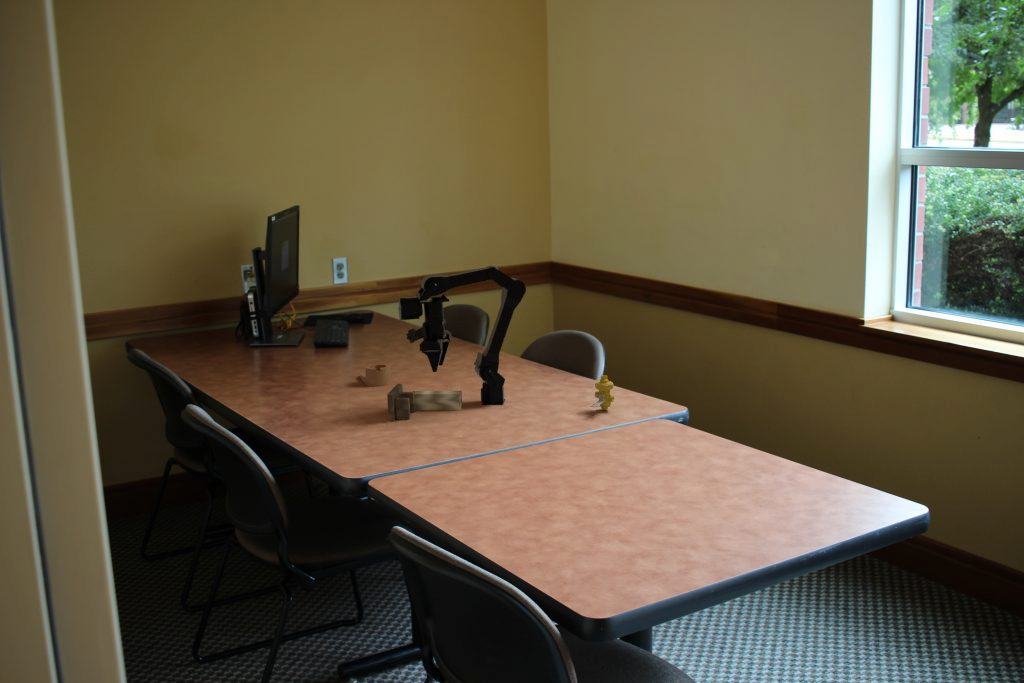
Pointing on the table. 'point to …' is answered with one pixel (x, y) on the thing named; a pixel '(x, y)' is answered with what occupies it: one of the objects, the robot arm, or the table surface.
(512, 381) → the table surface
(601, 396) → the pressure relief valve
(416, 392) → the rail
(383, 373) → the bracket
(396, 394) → the headboard
